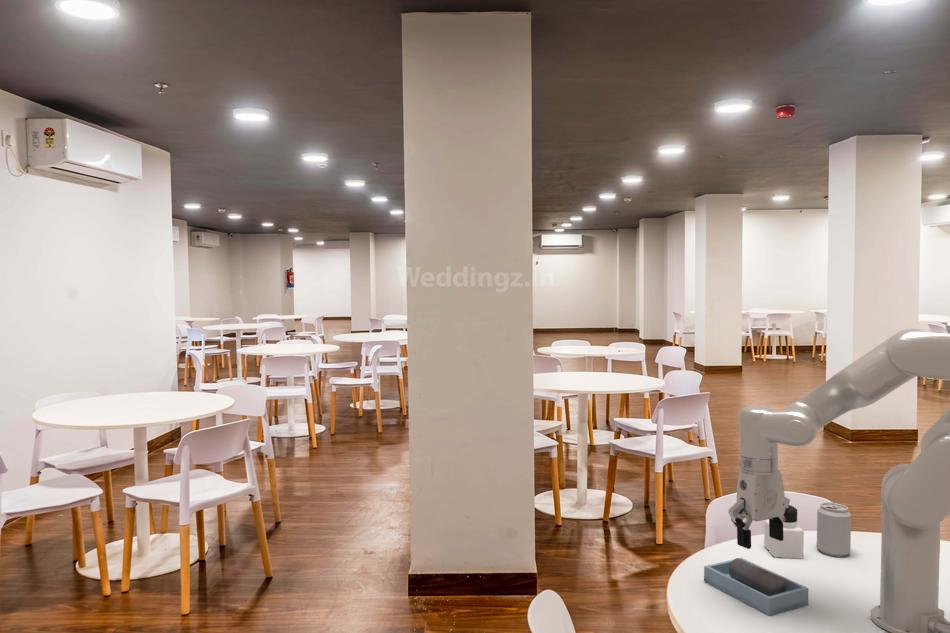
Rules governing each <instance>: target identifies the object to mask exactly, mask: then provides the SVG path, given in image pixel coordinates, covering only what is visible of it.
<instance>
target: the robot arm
mask: <svg viewBox="0 0 950 633" xmlns="http://www.w3.org/2000/svg"><path fill="white" fill-rule="evenodd" d="M916 377H919V378H925V379H926V378H927V379H934V380H946V381H950V333H948V332H947V333H945V332H936V331H935V332H933V331H925V330H921V329H916V328H908V329H903V330H901V331H898V332H897V333H895V334H893V335H892V336H890V337H889V338H887V339H885V340H884V341H882V342H881V343H880V344H878V345H877V346H875V347H874V348H872V349H871V350H869V351H868V352H866V353H865V354H862V356H861V357H859V358H857V359H856V360H855V361H853V362H851V363H850V364H849V365H847V366H845V367H844V368H843V369H841V370H839V371H837V372H836V373H835V374H834V375H832V376H831V377H830V378H828V379H827V380H826V381H823V383H821V384H820V385H818V386H817V387H815V388H813V389H812V390H810V391H809V392H808V393H805V394H804V395H803V396H801V397H800V398H798V399H796V401H793V402H792V403H791V404H789V405H788V406H786V408H785V409H784V410H781V411H780V410H778V411H777V410H775V409H773V408H771V407H769V406H760V405H750V406H744V407H742V408H741V409H740V411H739V414H738V415H739V460H740V461H739V463H738V464H739V465H738V466H739V467H740V469H739V471H738V477H737V486H736V502H735V503H734V504H733V505H732V506H731V507H730V508H729V509H728V510H727V511H728V514H729V517H730V520H731V522H732V524H733V525H734V527H736V538H737V539H736V541H737V546H740V547H742V548H744V549H747V550H750V549H751V548H752V530H751V529H749V528H750V526H751V525H752V523H753V522H762V521H765V520H769V536H770V537H771V538H774V539H777V540H779V541H783V523H782V522H784V521H785V515H786V514H787V512H788V509H787V508H788V506H789V505H790V503H791V499H789V498H788V497H786V496H785V495H786V494H785V487H784V479H783V476H782V473H781V470H780V469H779V449H778V448H779V446H778V445H779V444H783V445H786V446H790V447H791V446H792V447H804V446H807V445H809V444H811V443H812V442H813V441H814V440H815V438H816V437H817V432H818V431H819V430H820V429H822V428H823V427H825V426H827V425H828V424H830V423H831V422H833V421H834V420H836V419H838V418H839V417H841V416H842V415H845V414H846V413H849V412H851V411H853V410H857V409H861V408H866V407H868V406H870V405H873V404H875V403H877V402H879V401H880V400H881V399H883V398H884V397H886V396H887V395H889V394H890V393H892V392H893V391H895V390H897V389H898V388H900V387H901V386H903V385H904V384H906V383H908V382H909V381H911V380H912V379H914V378H916ZM919 448H920V451H921V452H920V453H919V454H918V455H917V456H916V457H915V459H914V460H913V461H912V462H910V463H902V464H900V463H899V464H897V465H895V466H893V467H891V468H889V470H887V472H886V473H885V474H884V476H883V479H882V481H881V489H880V490H881V491H880V493H881V494H880V496H881V498H880V499H881V547H880V548H881V549H880V550H881V552H880V589H879V590H880V591H879V592H880V593H879V605H876V606H874V607H873V608H871V609H870V619H871V620H872V621H873V623H875V625H877V626H878V627H880V628H881V629H884V630H885V631H887V632H889V633H950V621H949V620H947V619H946V618H945V610H943V609H941V608H939V598H940V597H939V592H940V556H941V555H940V553H941V522H943V521H944V520H945V519H946V518H947V517H948V516H949V515H950V406H949V407H948V408H947V409H946V411H944V413H943V414H942V415H941V416H940V417H939V418H938V419H937V421H936V422H935V423H934V424H933V425H932V426H931V427H930V428H929V429H928V430H926V431H925V433H924V434H923V436H922V437H921V440H920V446H919ZM771 518H772V519H771ZM744 519H745V521H744Z"/></svg>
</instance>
